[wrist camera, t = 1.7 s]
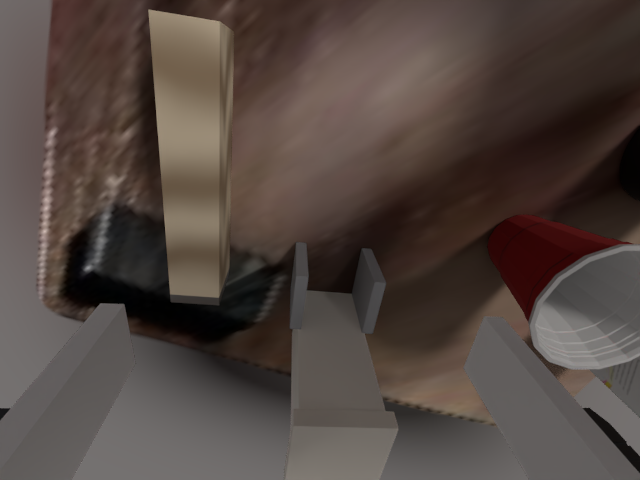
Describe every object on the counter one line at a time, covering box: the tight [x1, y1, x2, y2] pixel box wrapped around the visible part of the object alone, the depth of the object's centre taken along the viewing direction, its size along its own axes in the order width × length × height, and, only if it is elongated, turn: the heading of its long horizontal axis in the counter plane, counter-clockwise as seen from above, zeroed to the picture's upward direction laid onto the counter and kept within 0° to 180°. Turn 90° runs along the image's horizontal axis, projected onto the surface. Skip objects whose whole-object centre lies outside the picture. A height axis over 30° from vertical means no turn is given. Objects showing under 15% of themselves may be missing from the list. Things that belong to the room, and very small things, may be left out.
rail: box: [148, 10, 234, 305], centre depth 26 cm, size 21×4×5 cm, turn 172°
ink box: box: [589, 356, 640, 418], centre depth 34 cm, size 9×5×12 cm, turn 12°
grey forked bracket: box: [284, 242, 399, 480], centre depth 28 cm, size 12×8×15 cm, turn 172°
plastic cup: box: [487, 215, 640, 369], centre depth 28 cm, size 11×11×12 cm
